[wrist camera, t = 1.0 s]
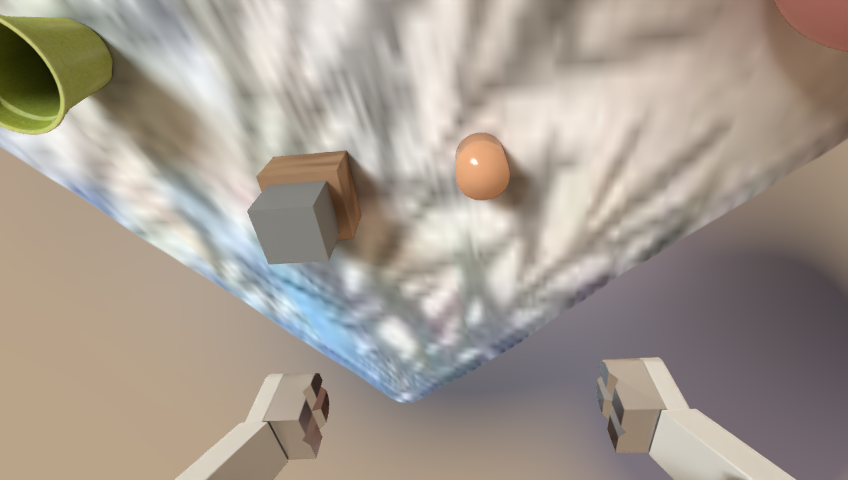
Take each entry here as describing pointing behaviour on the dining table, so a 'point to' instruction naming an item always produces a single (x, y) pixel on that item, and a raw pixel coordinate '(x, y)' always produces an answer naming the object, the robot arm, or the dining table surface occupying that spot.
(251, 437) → the robot arm
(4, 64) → the plant pot
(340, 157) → the tower base
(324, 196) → the tower top
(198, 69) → the dining table surface
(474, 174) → the terracotta cylinder
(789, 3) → the balloon
